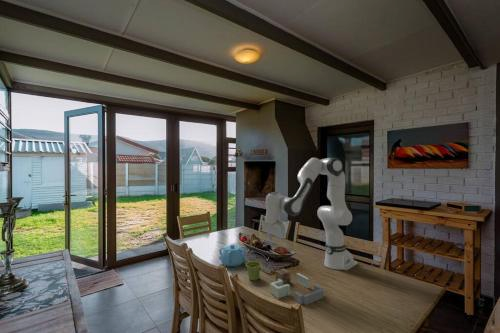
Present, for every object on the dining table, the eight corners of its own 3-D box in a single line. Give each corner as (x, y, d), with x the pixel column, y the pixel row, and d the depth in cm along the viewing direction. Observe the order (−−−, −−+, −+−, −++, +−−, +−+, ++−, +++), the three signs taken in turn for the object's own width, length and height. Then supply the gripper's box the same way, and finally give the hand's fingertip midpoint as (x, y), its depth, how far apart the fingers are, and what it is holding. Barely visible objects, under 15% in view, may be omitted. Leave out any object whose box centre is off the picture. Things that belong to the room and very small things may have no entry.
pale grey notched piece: (298, 281, 144) (298, 272, 144) (309, 287, 136) (309, 278, 136) (268, 291, 133) (268, 282, 133) (278, 299, 125) (278, 289, 125)
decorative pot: (225, 271, 162) (224, 250, 162) (218, 262, 176) (217, 243, 176) (248, 266, 168) (247, 246, 168) (239, 258, 183) (238, 240, 183)
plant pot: (248, 283, 144) (248, 268, 144) (244, 276, 153) (244, 262, 153) (263, 280, 146) (263, 265, 146) (259, 274, 155) (258, 260, 155)
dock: (316, 291, 132) (316, 284, 132) (325, 297, 126) (325, 289, 126) (294, 300, 124) (294, 292, 124) (303, 306, 119) (302, 297, 119)
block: (283, 278, 148) (283, 268, 148) (290, 282, 143) (290, 272, 143) (275, 281, 145) (275, 270, 145) (282, 285, 140) (281, 274, 140)
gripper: (288, 221, 144) (288, 245, 144) (268, 215, 162) (268, 237, 162) (279, 222, 141) (280, 247, 141) (260, 217, 158) (260, 238, 158)
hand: (273, 241), depth 151 cm, fingers open, 6 cm apart
